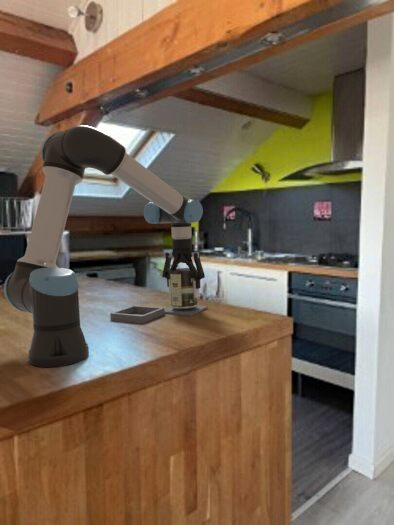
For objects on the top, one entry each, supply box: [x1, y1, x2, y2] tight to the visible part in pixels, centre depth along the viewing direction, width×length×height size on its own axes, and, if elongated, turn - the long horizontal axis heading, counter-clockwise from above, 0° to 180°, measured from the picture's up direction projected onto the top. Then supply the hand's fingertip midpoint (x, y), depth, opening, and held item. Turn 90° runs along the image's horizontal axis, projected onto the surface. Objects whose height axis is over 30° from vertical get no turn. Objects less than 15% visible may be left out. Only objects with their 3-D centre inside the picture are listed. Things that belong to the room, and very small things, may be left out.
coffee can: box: [169, 267, 198, 309], centre depth 162 cm, size 10×10×14 cm
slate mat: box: [164, 305, 208, 317], centre depth 163 cm, size 13×13×1 cm
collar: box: [109, 305, 165, 324], centre depth 155 cm, size 14×14×2 cm
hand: (183, 296), depth 162 cm, fingers closed on coffee can, 10 cm apart
